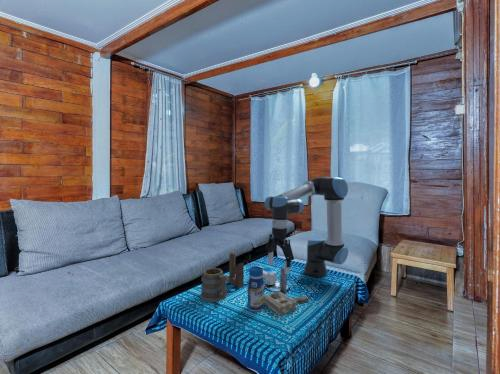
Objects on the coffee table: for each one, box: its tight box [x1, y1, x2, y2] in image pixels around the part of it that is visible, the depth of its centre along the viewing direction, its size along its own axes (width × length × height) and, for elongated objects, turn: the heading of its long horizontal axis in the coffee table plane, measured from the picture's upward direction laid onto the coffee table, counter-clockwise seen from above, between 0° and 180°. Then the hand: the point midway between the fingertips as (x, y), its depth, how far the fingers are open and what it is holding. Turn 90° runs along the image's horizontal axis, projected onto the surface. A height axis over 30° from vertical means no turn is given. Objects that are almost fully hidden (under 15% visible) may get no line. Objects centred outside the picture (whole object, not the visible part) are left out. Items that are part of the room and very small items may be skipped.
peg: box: [279, 266, 288, 295], centre depth 153 cm, size 4×4×14 cm
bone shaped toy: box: [257, 265, 279, 286], centre depth 168 cm, size 15×9×8 cm, turn 42°
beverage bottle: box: [246, 266, 265, 312], centre depth 136 cm, size 8×8×20 cm
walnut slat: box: [292, 295, 309, 304], centre depth 143 cm, size 9×3×2 cm, turn 114°
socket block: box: [264, 290, 298, 316], centre depth 139 cm, size 11×14×4 cm
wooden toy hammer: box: [227, 252, 245, 288], centre depth 163 cm, size 4×11×18 cm, turn 42°
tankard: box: [199, 267, 229, 303], centre depth 144 cm, size 20×13×15 cm, turn 40°
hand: (278, 268), depth 138 cm, fingers open, 13 cm apart
